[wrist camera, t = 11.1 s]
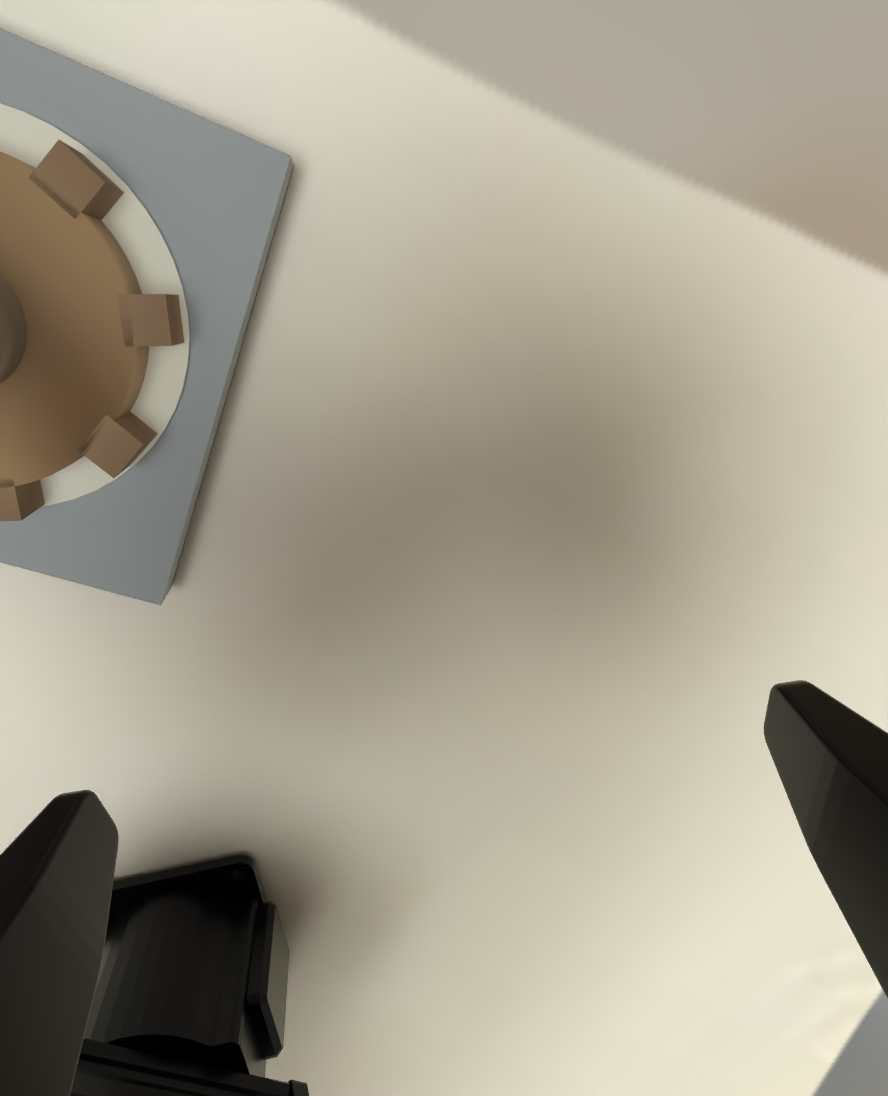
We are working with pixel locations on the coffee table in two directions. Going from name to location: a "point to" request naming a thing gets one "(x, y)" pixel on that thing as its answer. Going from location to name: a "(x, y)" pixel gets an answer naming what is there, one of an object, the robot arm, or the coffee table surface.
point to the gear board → (161, 268)
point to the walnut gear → (68, 328)
